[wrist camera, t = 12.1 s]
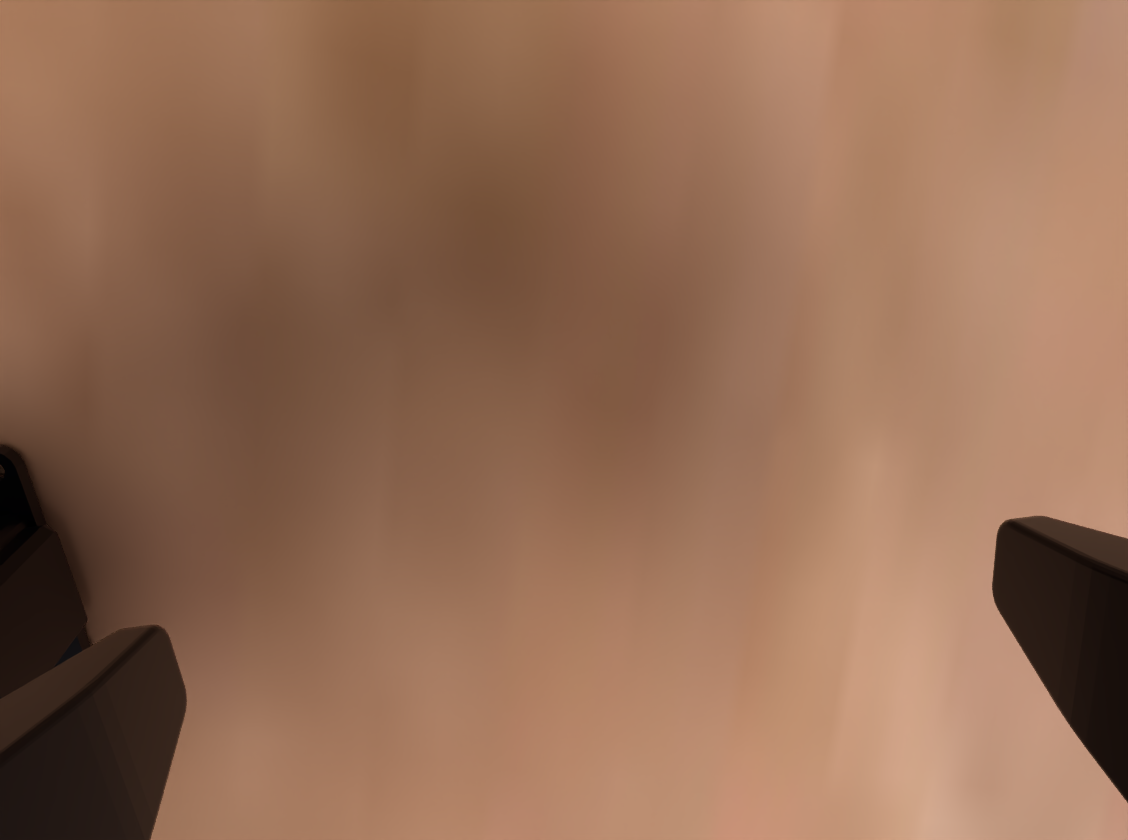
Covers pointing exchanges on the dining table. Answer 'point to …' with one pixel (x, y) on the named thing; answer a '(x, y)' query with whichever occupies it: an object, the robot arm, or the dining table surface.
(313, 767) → the dining table surface
